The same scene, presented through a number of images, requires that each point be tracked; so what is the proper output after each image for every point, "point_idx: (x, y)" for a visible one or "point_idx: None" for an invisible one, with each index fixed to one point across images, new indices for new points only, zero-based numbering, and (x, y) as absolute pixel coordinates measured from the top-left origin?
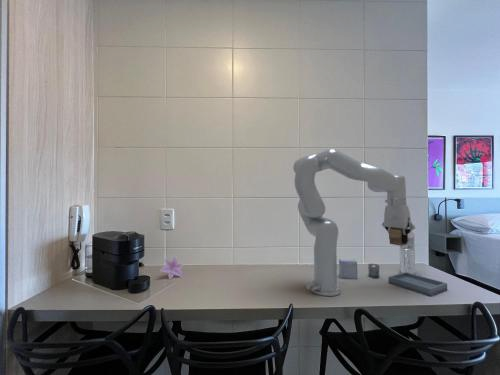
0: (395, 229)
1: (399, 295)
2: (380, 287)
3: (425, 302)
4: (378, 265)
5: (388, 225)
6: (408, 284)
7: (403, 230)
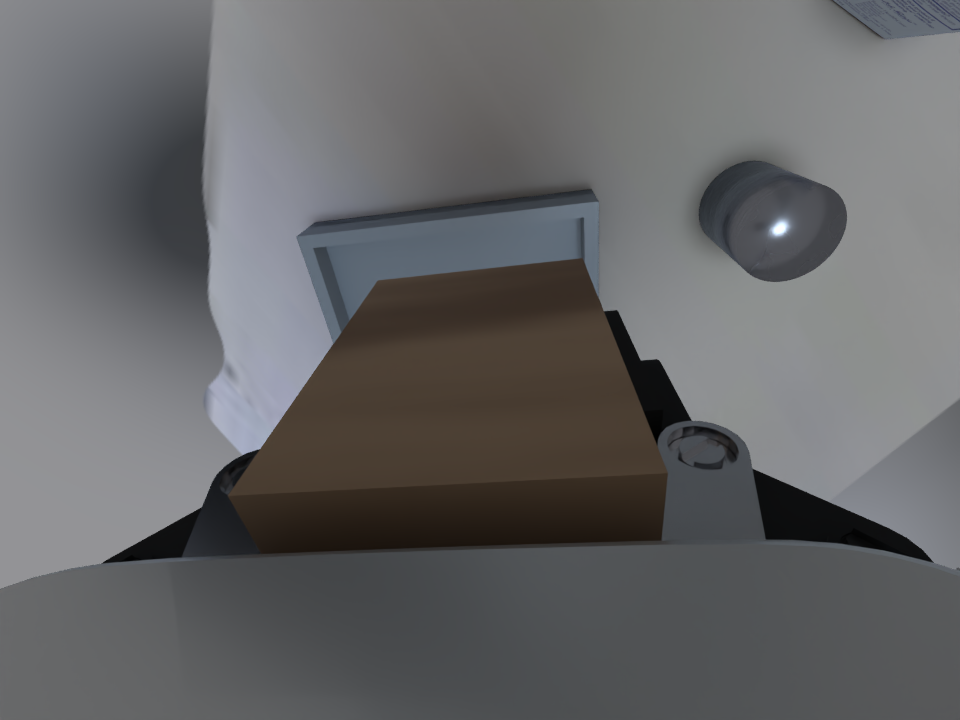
0: (397, 483)
1: (380, 21)
2: (560, 24)
3: (242, 92)
4: (750, 264)
5: (739, 586)
6: (440, 216)
7: (220, 543)
